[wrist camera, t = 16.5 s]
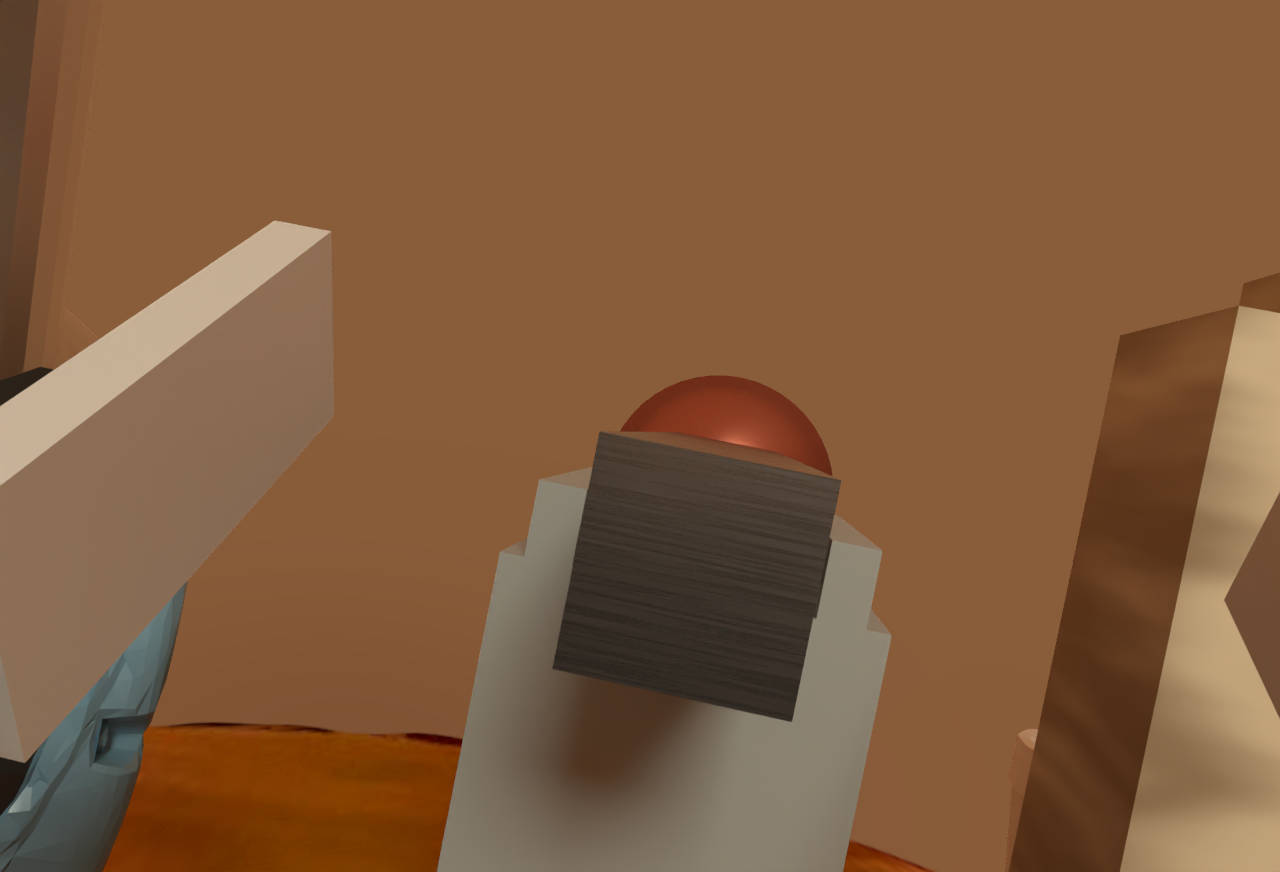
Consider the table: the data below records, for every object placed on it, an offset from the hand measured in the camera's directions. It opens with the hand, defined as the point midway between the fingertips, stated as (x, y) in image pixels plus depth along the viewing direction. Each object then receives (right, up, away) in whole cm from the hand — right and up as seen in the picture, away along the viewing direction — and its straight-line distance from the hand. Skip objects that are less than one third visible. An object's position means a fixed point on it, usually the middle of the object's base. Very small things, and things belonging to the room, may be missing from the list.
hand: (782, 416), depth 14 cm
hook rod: (-1, -5, +10) cm, 12 cm away
